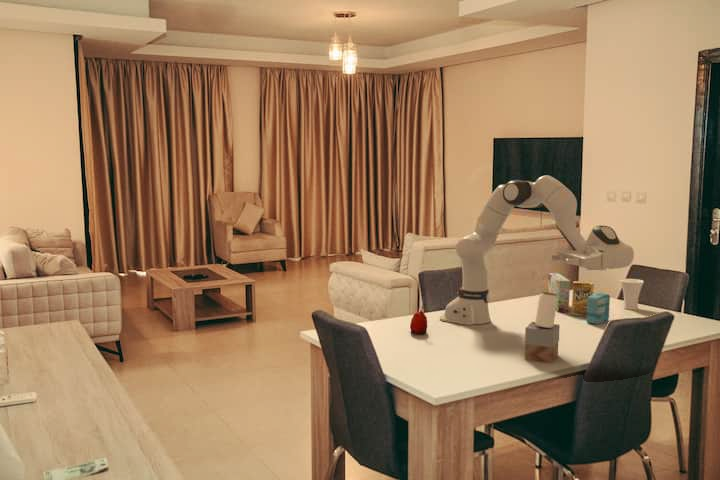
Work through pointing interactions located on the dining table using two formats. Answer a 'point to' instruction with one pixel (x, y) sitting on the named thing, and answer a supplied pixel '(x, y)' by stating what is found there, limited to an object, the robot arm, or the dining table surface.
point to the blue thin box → (598, 308)
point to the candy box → (581, 297)
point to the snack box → (559, 290)
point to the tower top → (541, 335)
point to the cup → (631, 292)
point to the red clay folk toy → (419, 322)
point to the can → (546, 310)
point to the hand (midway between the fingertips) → (558, 259)
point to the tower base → (541, 353)
